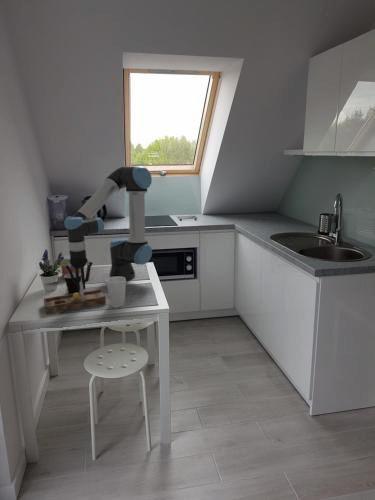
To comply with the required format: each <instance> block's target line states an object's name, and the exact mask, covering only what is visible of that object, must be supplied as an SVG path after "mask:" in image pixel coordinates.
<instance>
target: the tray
mask: <svg viewBox="0 0 375 500" xmlns="http://www.w3.org/2000/svg"><path fill="white" fill-rule="evenodd" d="M79 294H80V293H79ZM43 303H44V309H45V313H46V315H50V314H57V313H62V311H63V312H69V311H72V310H77V309H78V308H79V309H83V308H89V307H93V306H94V307H95V306H101V305H106V304H107V301H106V296H105V295H103V293H102V290H101V289H100V288H98V289H93V290H88V291H87V290H86V291H84V296H83V297H81V296H80V298H79V299H78V300H75V299H73V294H68V293H67V294H64V295H57V296H51V297H45V298H43Z"/></svg>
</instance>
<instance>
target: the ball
mask: <svg viewBox="0 0 375 500" xmlns="http://www.w3.org/2000/svg"><path fill="white" fill-rule="evenodd" d="M79 298H80V294H79V293H74V294H73V299H75V300H78V299H79Z"/></svg>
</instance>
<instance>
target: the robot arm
mask: <svg viewBox="0 0 375 500" xmlns="http://www.w3.org/2000/svg"><path fill="white" fill-rule="evenodd" d="M152 180H153V179H152V174H151V172H150V171H149V169H148V168H146V167H144V166H139V165H137V166H135V165H134V166H130V165H129V166H120V167H118V168H117V169H115V170H114V171H112V172H111V173H110V174H109V175H108V176H107V177H106V178H105V179H104V182H103V184H102V185H101V186H100V187H99V188H98V189H97V190H96V191H95V193H93V194H92V196H91V197H89V199H88V200H87V201H86V202H85V203H84V204H83V205H82V206H81V207H80V208H79V209H78V211H77V212H76V213H74V214H73V215H70V216H67V217H66V218H65V219H64V227H65V228H66V231H67V239H68V240H67V241H68V248H69V252H68V253H69V255H70V261H69V262H70V263H68V264H66V265H65V267H66V268H67V269H68V271H69V273H70V276H71V279H72V281H73V283H74V284H77V289H78V290H80V296H81V297H83V296H84V292H85V291H84V290H86V283H87V282H89V281H90V274H91V268H92V265H93V262H92V261H91V260H88V258H87V252H86V241H85V239H86V238H85V237H86V236H89V235H93V234H98V233H101V232H103V231H104V229H105V222H104V220H103V219H102V218H101V217H94V216H95V215H96V214H97V213H98V212H99V210H100V209H101V208H102V207H103V206H104V205H105V204H106V203H107V202H108V201H109V200H110V198H111V197H113V195H114V194H116V193H118V192H120V190H122V189H125V192H126V193H127V194H128V216H129V218H128V221H129V222H128V223H129V226H128V229H129V238H128V237H124V238H123V237H121V238H117V239H112V240H111V241H110V243H109V254H110V262H111V265H110V266H111V267H110V270H109V278H110V277H117V276H120V277H125V279H126V281H129V280H132V279H134V278H135V277H136V272H135V270H134V267H133V264H135V265H140V266H141V265H146V264H147V263H148V262H149V261H150V260H151V258H152V255H153V249H152V247H151V246H150V245H149V243H148V242H149V241H148V239H147V238H146V222H145V221H146V217H145V216H146V215H145V213H146V212H145V207H146V206H145V200H146V199H145V195H146V193H148V189H149V188H150V187H151V185H152V182H153V181H152ZM93 217H94V218H93ZM86 264H87V265H86ZM71 265H72V266H73V267H74V268H75V273H76V280H75V279H74V276H73V274H72V271H71V269H70V268H71ZM85 267H86V271H85ZM79 268H80V269H81V282H79V270H78V269H79Z"/></svg>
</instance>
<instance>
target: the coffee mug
mask: <svg viewBox="0 0 375 500" xmlns="http://www.w3.org/2000/svg"><path fill="white" fill-rule="evenodd" d="M72 274H73V276H74V279H75V280H76V273H72ZM64 277H65V278H64V280H65V285H66V288H67V292H68V293H67V295H68V294H74V293H80V290H78V289H77V284H74V283H73V281H72V279H71V276H70V274H67V275H65V276H64ZM79 282H82V279H81V274H80V273H79Z"/></svg>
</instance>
